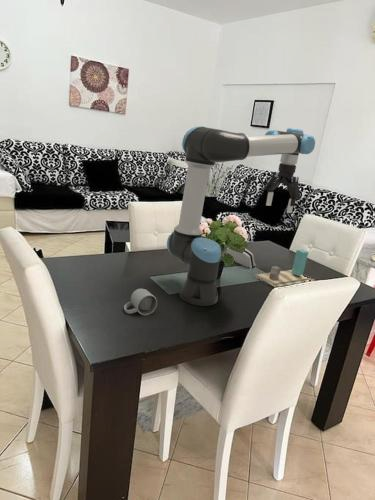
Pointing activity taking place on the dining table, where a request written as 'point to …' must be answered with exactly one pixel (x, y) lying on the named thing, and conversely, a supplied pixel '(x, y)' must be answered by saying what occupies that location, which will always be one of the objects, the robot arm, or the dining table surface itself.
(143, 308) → the ceramic mug
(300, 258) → the block
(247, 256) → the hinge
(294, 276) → the hole board
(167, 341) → the dining table surface
